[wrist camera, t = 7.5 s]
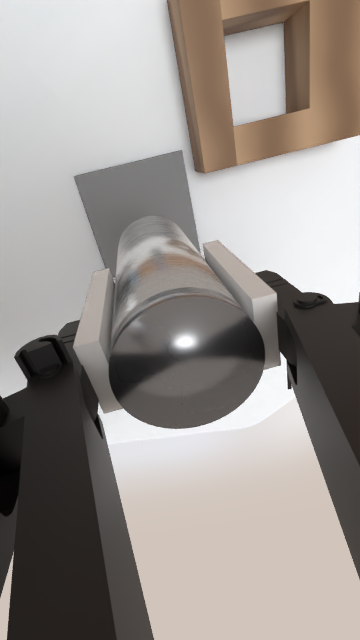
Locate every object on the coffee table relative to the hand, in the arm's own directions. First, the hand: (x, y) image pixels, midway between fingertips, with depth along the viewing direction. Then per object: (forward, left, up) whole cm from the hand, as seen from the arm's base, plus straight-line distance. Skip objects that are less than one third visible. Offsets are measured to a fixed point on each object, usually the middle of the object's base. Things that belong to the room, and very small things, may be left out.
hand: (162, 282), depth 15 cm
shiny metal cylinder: (0, 0, -6) cm, 6 cm away
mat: (0, 0, -18) cm, 18 cm away
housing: (+13, +9, -18) cm, 24 cm away
